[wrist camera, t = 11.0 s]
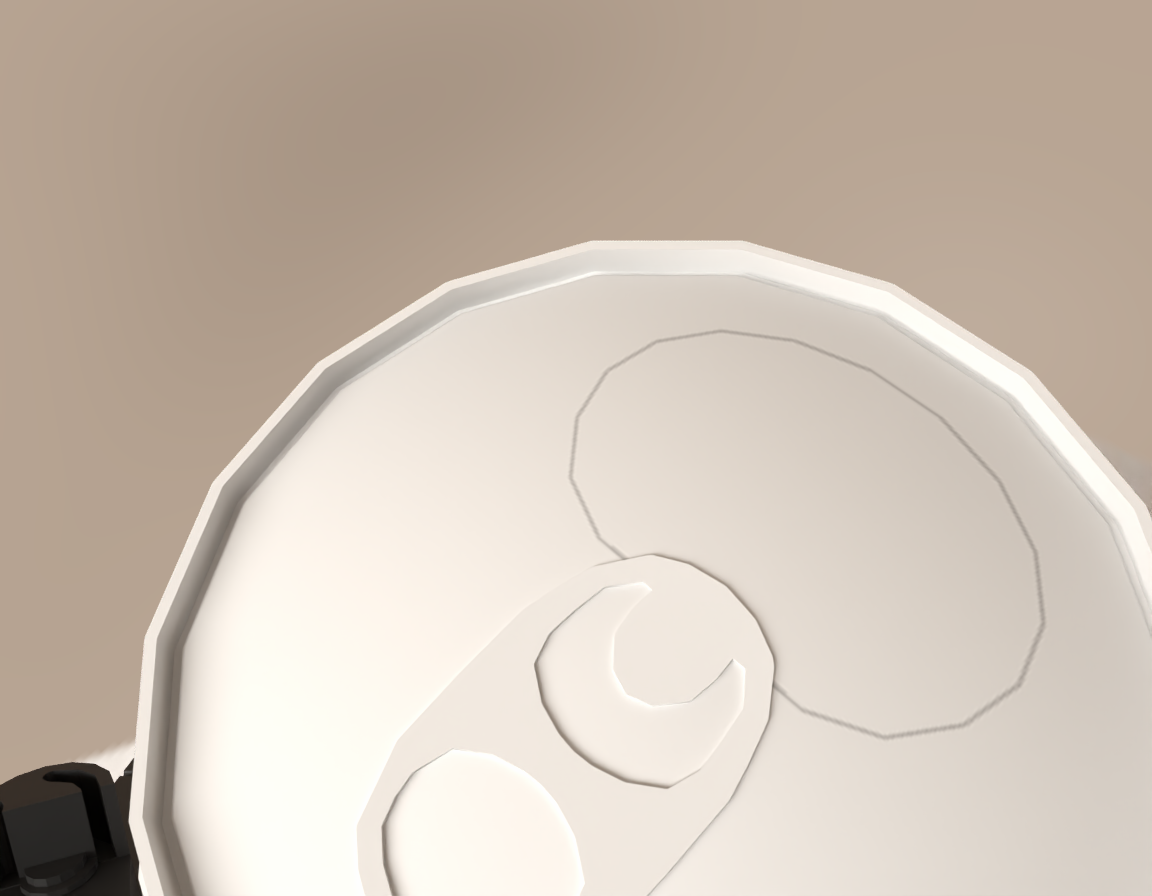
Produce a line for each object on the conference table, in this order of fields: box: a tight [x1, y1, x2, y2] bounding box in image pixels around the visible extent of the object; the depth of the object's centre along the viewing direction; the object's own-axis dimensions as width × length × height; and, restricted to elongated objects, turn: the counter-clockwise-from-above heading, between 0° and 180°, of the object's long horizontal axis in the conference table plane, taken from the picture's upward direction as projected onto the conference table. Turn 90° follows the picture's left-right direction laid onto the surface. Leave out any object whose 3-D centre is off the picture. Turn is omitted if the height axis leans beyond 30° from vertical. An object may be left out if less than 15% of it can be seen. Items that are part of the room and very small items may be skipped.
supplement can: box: [129, 241, 1152, 896], centre depth 14 cm, size 8×8×15 cm
